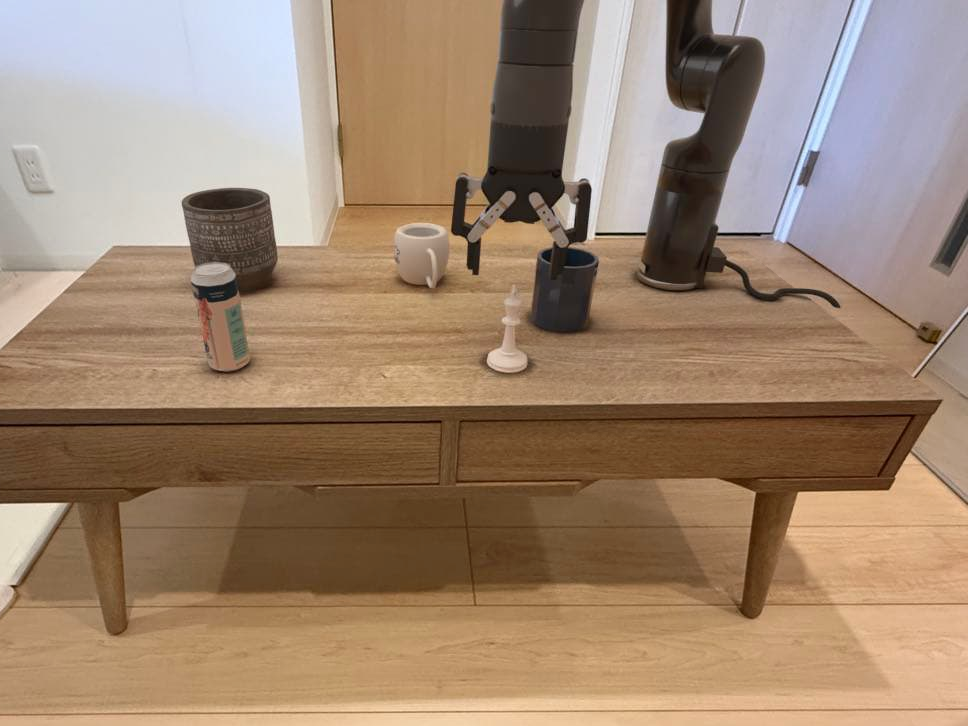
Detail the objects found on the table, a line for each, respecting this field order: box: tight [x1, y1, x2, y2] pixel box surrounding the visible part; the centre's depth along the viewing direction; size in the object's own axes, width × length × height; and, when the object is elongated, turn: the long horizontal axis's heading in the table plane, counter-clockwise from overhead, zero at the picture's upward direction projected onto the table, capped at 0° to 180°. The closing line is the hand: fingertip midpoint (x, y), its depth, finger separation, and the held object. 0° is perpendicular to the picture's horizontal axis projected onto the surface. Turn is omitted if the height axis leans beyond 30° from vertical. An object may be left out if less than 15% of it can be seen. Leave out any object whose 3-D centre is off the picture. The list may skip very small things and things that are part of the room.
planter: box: [181, 187, 279, 294], centre depth 90 cm, size 12×12×13 cm
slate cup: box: [530, 246, 600, 333], centre depth 82 cm, size 8×8×9 cm
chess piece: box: [486, 283, 528, 374], centre depth 71 cm, size 5×5×10 cm
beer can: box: [190, 262, 251, 373], centre depth 70 cm, size 5×5×12 cm
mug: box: [393, 222, 450, 290], centre depth 92 cm, size 12×8×8 cm
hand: (513, 275), depth 68 cm, fingers open, 8 cm apart
